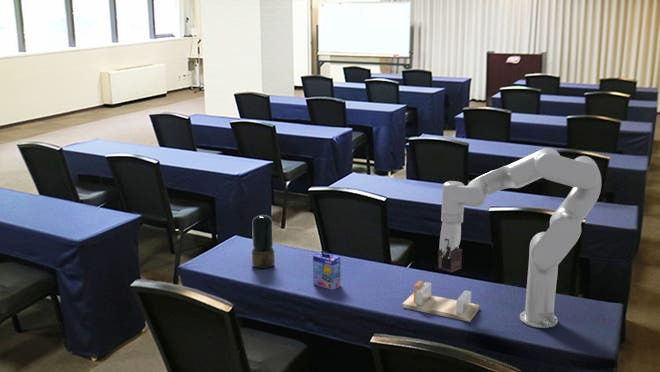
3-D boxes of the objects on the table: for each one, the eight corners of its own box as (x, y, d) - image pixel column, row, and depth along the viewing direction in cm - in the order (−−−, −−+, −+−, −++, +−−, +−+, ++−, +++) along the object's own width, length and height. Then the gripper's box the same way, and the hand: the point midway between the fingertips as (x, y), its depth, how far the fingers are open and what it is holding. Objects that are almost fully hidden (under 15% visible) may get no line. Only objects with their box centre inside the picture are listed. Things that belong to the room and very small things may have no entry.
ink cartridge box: (312, 284, 264) (312, 249, 261) (320, 280, 269) (320, 245, 265) (333, 290, 259) (333, 254, 255) (341, 285, 263) (341, 250, 260)
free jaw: (430, 295, 250) (431, 280, 248) (421, 305, 241) (422, 289, 240) (420, 293, 252) (421, 278, 250) (411, 303, 243) (411, 287, 242)
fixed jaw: (470, 304, 243) (471, 291, 242) (462, 314, 235) (463, 301, 233) (464, 303, 244) (464, 290, 243) (455, 313, 236) (456, 300, 235)
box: (461, 268, 238) (462, 249, 236) (450, 273, 234) (451, 253, 233) (448, 264, 243) (449, 244, 241) (437, 268, 239) (438, 248, 237)
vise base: (479, 308, 243) (479, 304, 243) (469, 321, 233) (470, 317, 233) (413, 295, 254) (414, 291, 254) (402, 307, 244) (402, 303, 244)
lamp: (248, 263, 286) (247, 214, 281) (269, 260, 290) (268, 211, 285) (257, 271, 278) (255, 220, 272) (278, 267, 282) (277, 217, 277)
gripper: (449, 209, 243) (447, 255, 247) (433, 222, 228) (431, 270, 232) (469, 212, 240) (467, 258, 244) (455, 225, 225) (452, 274, 229)
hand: (449, 264), depth 238 cm, fingers closed on box, 7 cm apart
